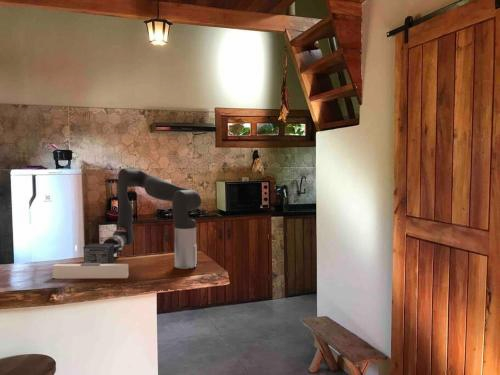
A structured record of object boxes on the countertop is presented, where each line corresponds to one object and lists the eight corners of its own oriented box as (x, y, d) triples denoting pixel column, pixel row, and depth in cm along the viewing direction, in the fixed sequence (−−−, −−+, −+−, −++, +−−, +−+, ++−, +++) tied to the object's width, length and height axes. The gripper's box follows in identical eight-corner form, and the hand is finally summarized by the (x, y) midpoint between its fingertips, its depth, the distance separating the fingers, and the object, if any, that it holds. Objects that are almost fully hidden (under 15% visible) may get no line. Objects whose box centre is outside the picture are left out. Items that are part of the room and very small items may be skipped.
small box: (115, 267, 166) (114, 243, 165) (109, 272, 160) (108, 247, 159) (90, 266, 167) (89, 242, 165) (83, 271, 160) (82, 246, 159)
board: (128, 276, 155) (128, 262, 154) (126, 278, 152) (126, 264, 152) (55, 276, 153) (55, 263, 153) (52, 278, 151) (52, 264, 150)
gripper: (99, 236, 182) (85, 244, 165) (127, 236, 183) (117, 244, 166) (99, 252, 183) (85, 261, 166) (128, 252, 184) (117, 261, 166)
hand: (101, 253), depth 166 cm, fingers closed
